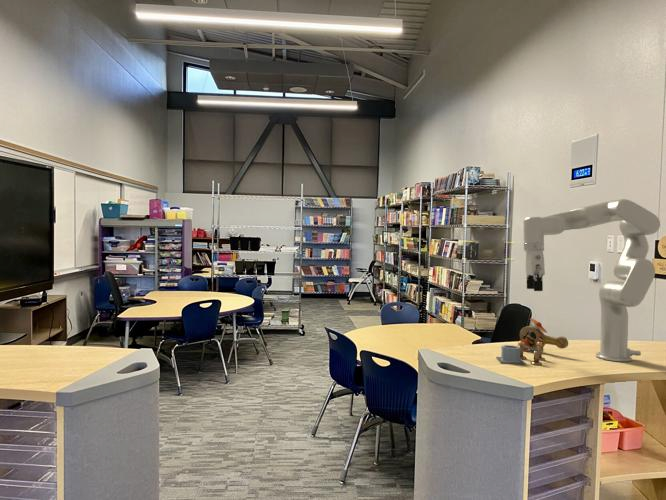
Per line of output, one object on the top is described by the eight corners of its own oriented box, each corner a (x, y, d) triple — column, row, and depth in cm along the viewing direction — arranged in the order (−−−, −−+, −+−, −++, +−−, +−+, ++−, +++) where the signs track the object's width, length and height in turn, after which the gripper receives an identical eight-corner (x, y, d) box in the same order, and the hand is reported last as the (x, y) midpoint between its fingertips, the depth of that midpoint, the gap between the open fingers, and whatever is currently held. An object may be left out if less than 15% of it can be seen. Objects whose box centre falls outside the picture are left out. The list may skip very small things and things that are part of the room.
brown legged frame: (542, 358, 189) (543, 341, 189) (553, 366, 176) (553, 347, 176) (514, 356, 191) (514, 339, 191) (522, 364, 178) (523, 346, 178)
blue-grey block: (517, 358, 185) (517, 345, 185) (521, 362, 179) (521, 349, 179) (500, 357, 186) (500, 344, 186) (503, 361, 180) (504, 348, 180)
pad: (519, 359, 186) (519, 357, 186) (525, 364, 177) (525, 363, 177) (496, 358, 187) (496, 356, 187) (500, 363, 179) (501, 361, 179)
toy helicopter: (525, 347, 210) (526, 317, 210) (572, 356, 194) (572, 323, 194) (515, 349, 205) (515, 318, 205) (562, 359, 189) (563, 325, 189)
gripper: (550, 247, 180) (551, 291, 180) (537, 247, 197) (537, 288, 198) (530, 247, 181) (531, 291, 181) (518, 247, 198) (519, 288, 198)
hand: (534, 289), depth 189 cm, fingers open, 9 cm apart
